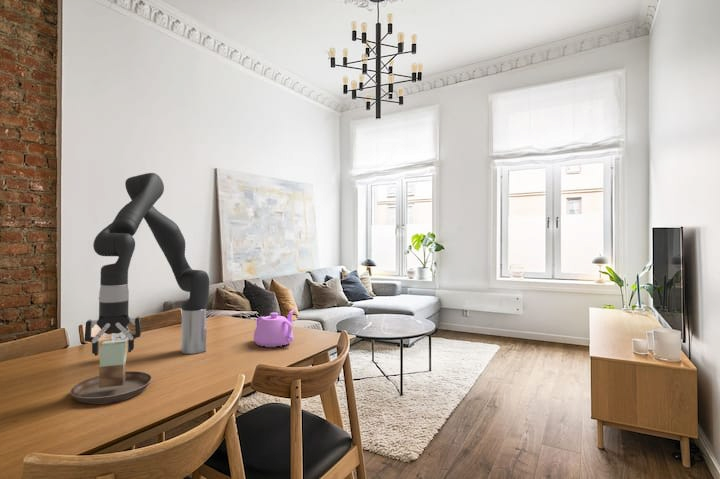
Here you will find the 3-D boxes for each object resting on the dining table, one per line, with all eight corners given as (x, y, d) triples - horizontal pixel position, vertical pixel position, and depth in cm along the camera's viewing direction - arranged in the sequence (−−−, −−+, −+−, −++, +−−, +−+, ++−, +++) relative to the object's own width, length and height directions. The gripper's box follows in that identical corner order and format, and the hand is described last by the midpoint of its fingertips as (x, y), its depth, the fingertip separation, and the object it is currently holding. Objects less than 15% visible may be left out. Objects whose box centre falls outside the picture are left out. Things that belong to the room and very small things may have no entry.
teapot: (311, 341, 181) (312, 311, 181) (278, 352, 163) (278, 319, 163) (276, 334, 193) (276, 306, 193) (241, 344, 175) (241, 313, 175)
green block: (126, 358, 124) (126, 339, 124) (123, 364, 118) (123, 344, 118) (103, 361, 121) (103, 341, 121) (99, 367, 116) (100, 346, 116)
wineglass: (120, 361, 149) (120, 328, 149) (107, 359, 150) (107, 328, 150) (132, 356, 155) (132, 325, 155) (119, 355, 156) (119, 324, 156)
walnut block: (125, 378, 123) (125, 359, 123) (122, 385, 118) (123, 364, 118) (102, 381, 121) (102, 361, 121) (98, 387, 116) (99, 367, 115)
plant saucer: (92, 415, 106) (92, 402, 106) (57, 397, 116) (57, 386, 116) (165, 390, 123) (165, 379, 123) (129, 376, 134) (129, 367, 134)
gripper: (141, 296, 126) (141, 347, 126) (88, 298, 120) (87, 352, 120) (140, 300, 119) (139, 354, 119) (83, 302, 113) (82, 359, 113)
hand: (113, 353), depth 120 cm, fingers open, 8 cm apart
